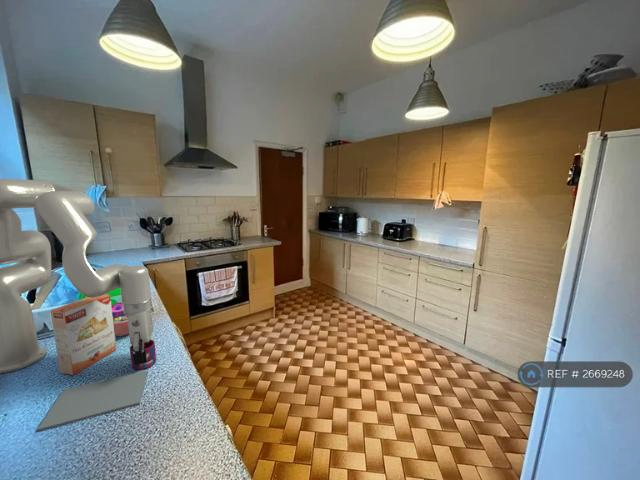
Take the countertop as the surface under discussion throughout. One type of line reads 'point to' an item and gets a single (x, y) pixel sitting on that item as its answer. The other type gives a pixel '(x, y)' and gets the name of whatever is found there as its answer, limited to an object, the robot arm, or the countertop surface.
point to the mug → (149, 354)
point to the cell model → (119, 320)
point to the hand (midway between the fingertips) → (143, 354)
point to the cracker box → (83, 333)
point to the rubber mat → (95, 399)
